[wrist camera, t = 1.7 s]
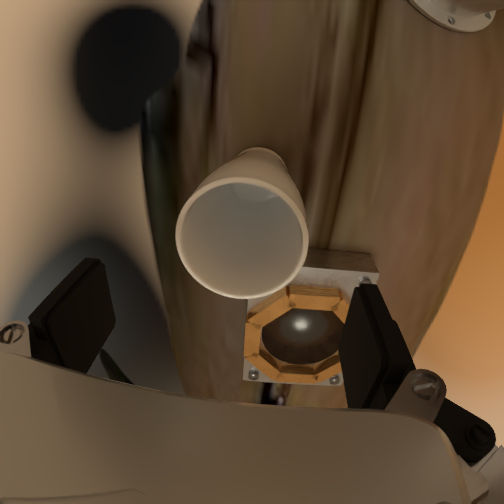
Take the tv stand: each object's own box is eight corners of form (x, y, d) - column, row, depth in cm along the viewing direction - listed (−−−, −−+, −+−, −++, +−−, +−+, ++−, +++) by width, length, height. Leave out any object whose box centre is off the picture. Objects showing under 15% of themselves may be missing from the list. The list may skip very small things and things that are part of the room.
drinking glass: (220, 139, 28) (164, 178, 14) (295, 138, 27) (313, 175, 14) (224, 209, 31) (182, 299, 17) (295, 209, 30) (307, 302, 17)
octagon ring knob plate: (253, 243, 32) (249, 270, 27) (369, 253, 31) (383, 281, 27) (246, 356, 39) (241, 389, 34) (337, 362, 39) (343, 394, 34)
